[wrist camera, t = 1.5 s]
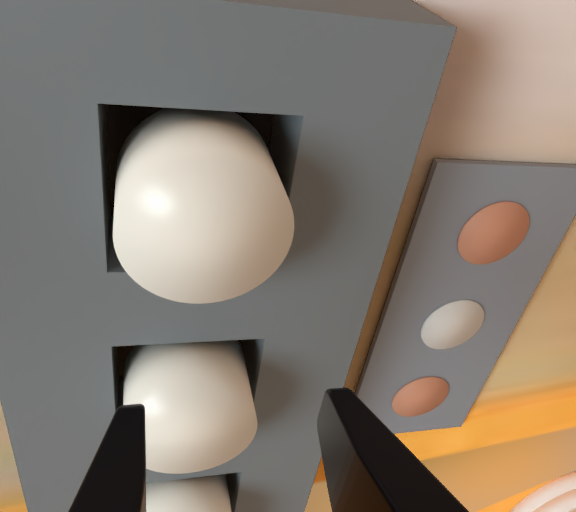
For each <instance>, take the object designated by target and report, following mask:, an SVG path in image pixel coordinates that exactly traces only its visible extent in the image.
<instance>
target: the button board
mask: <svg viewBox="0 0 576 512" xmlns="http://www.w3.org/2000/svg"><path fill="white" fill-rule="evenodd" d="M456 29H457V27H455V26H454V25H452V24H450V23H449V22H447V21H445V20H444V19H442V18H440V17H439V16H437V15H435V14H434V13H432V12H430V11H429V10H427V9H425V8H424V7H422V6H420V5H419V4H417V3H415V2H414V1H412V0H0V400H1V404H2V408H3V413H4V417H5V421H6V425H7V429H8V433H9V437H10V441H11V445H12V449H13V453H14V457H15V461H16V466H17V470H18V474H19V478H20V482H21V486H22V490H23V494H24V498H25V502H26V506H27V510H28V512H68V511H69V509H70V507H71V505H72V502H73V500H74V498H75V496H76V494H77V492H78V490H79V488H80V485H81V483H82V481H83V479H84V477H85V475H86V473H87V471H88V469H89V466H90V464H91V462H92V460H93V458H94V456H95V454H96V452H97V450H98V447H99V445H100V443H101V441H102V439H103V437H104V435H105V433H106V431H107V428H108V426H109V424H110V422H111V420H112V418H113V416H114V414H115V412H116V410H117V408H118V407H119V406H121V405H123V389H124V379H119V376H118V355H117V346H132V345H151V344H170V343H189V342H208V341H227V340H243V341H242V351H243V354H244V359H245V364H246V369H247V374H248V378H249V383H250V388H251V393H252V398H253V402H254V407H255V412H256V417H257V423H258V424H257V431H256V434H255V436H254V438H253V440H252V442H251V443H250V444H249V445H248V447H247V448H246V449H245V450H244V451H242V452H241V453H240V454H239V455H237V456H236V457H234V458H233V459H231V460H229V461H228V462H226V463H223V464H221V465H219V466H216V467H214V468H210V469H207V470H203V471H199V472H193V473H184V474H169V473H161V472H155V471H152V470H148V469H146V483H152V482H160V481H169V480H177V479H186V478H195V477H203V476H212V475H220V474H226V477H227V484H228V491H229V498H230V505H231V512H304V511H305V507H306V504H307V501H308V498H309V495H310V492H311V488H312V485H313V482H314V479H315V476H316V473H317V469H318V466H319V463H320V460H321V457H322V454H321V448H320V443H319V437H318V432H317V417H318V413H319V410H320V406H321V403H322V399H323V396H324V393H325V391H326V390H327V389H331V388H343V387H344V384H345V381H346V377H347V374H348V371H349V368H350V365H351V362H352V358H353V355H354V352H355V349H356V346H357V343H358V339H359V336H360V333H361V330H362V327H363V324H364V320H365V317H366V314H367V311H368V308H369V305H370V301H371V298H372V295H373V292H374V289H375V286H376V282H377V279H378V276H379V273H380V270H381V266H382V263H383V260H384V257H385V254H386V251H387V247H388V244H389V241H390V238H391V235H392V232H393V228H394V225H395V222H396V219H397V216H398V213H399V209H400V206H401V203H402V200H403V197H404V194H405V190H406V187H407V184H408V181H409V178H410V175H411V171H412V168H413V165H414V162H415V159H416V155H417V152H418V149H419V146H420V143H421V140H422V136H423V133H424V130H425V127H426V124H427V121H428V117H429V114H430V111H431V108H432V105H433V102H434V98H435V95H436V92H437V89H438V86H439V83H440V79H441V76H442V73H443V70H444V67H445V64H446V60H447V57H448V54H449V51H450V48H451V44H452V41H453V38H454V35H455V32H456ZM105 104H113V105H130V106H147V107H164V108H181V109H198V110H214V111H231V112H248V113H265V114H274V121H273V128H272V135H271V142H270V149H269V153H270V156H271V158H272V161H273V163H274V165H275V168H276V170H277V172H278V175H279V177H280V180H281V182H282V184H283V187H284V189H285V191H286V194H287V196H288V199H289V201H290V204H291V207H292V210H293V215H294V235H293V240H292V243H291V246H290V249H289V251H288V254H287V255H286V257H285V259H284V261H283V262H282V264H281V265H280V266H279V267H278V269H277V270H276V271H275V272H274V273H273V274H272V275H271V276H270V277H269V278H268V279H267V280H265V281H264V282H263V283H262V284H260V285H259V286H257V287H256V288H254V289H253V290H251V291H249V292H247V293H245V294H243V295H240V296H237V297H235V298H232V299H228V300H225V301H220V302H215V303H205V304H190V303H182V302H177V301H172V300H168V299H165V298H162V297H160V296H157V295H155V294H153V293H151V292H149V291H148V290H146V289H144V288H143V287H141V286H140V285H139V284H138V283H136V282H135V281H134V280H133V279H132V278H131V277H130V276H129V275H128V274H127V272H126V271H125V270H124V268H123V267H122V265H121V263H120V261H119V259H118V257H117V255H116V252H115V248H114V243H113V219H114V216H111V210H110V190H109V169H108V148H107V128H106V107H105Z"/></svg>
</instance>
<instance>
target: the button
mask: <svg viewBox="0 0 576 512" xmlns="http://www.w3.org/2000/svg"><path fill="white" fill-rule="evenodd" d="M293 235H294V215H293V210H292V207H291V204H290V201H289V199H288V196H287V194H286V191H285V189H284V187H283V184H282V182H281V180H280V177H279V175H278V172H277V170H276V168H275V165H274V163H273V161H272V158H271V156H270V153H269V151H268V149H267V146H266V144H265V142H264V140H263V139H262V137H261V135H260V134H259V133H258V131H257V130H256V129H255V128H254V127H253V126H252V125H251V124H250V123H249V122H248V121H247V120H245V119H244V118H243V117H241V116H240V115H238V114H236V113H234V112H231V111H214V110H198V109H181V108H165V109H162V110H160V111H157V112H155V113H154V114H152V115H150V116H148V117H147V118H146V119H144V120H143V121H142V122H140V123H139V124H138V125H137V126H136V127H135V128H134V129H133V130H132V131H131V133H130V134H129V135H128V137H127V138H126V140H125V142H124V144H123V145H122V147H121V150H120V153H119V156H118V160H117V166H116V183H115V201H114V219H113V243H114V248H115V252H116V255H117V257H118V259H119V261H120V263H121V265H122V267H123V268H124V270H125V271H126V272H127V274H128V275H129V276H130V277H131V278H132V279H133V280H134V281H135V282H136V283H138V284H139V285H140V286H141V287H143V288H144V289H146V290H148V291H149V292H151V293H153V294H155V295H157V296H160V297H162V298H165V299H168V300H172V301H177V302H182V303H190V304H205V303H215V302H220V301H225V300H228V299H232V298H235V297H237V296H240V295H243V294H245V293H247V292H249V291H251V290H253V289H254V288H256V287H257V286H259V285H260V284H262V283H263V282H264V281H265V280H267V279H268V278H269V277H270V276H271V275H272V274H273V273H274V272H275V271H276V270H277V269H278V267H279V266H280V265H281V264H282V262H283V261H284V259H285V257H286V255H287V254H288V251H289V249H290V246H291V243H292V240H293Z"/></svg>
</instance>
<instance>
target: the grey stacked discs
mask: <svg viewBox="0 0 576 512" xmlns="http://www.w3.org/2000/svg"><path fill="white" fill-rule="evenodd" d="M561 476H562V477H561ZM561 476H559V477H560V478H559V477H556V478H557V479H556V478H554V479H555V480H553V479H552V480H553V481H551V482H549V483H547V484H545V485H543V486H541V487H540V488H538V489H536V490H535V491H533V492H532V493H530V494H529V495H527V496H526V497H525V498H523V499H522V500H521V501H520V502H519V503H517V504H516V505H515V506H514V507H513V508H512V510H511V511H510V512H576V471H572V472H569V473H567V474H564V475H561Z"/></svg>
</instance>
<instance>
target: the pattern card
mask: <svg viewBox="0 0 576 512" xmlns="http://www.w3.org/2000/svg"><path fill="white" fill-rule="evenodd" d="M575 215H576V164H554V163H529V162H504V161H479V160H454V159H434V160H433V163H432V166H431V169H430V172H429V175H428V178H427V181H426V184H425V187H424V190H423V193H422V196H421V199H420V202H419V205H418V208H417V211H416V214H415V216H414V219H413V222H412V225H411V228H410V231H409V234H408V237H407V240H406V243H405V246H404V249H403V252H402V255H401V258H400V261H399V264H398V267H397V270H396V273H395V276H394V279H393V282H392V285H391V288H390V291H389V294H388V297H387V300H386V302H385V305H384V308H383V311H382V314H381V317H380V320H379V323H378V326H377V329H376V332H375V335H374V338H373V341H372V344H371V347H370V350H369V353H368V356H367V359H366V362H365V365H364V368H363V371H362V374H361V377H360V380H359V383H358V386H357V388H356V391H355V394H356V396H357V397H358V398H359V399H360V400H361V401H362V402H363V403H364V404H365V405H366V406H367V407H368V408H369V409H370V410H371V411H372V412H373V413H374V414H375V415H376V416H377V417H378V418H379V419H380V420H381V421H382V422H383V423H384V424H385V425H386V427H387V428H388V429H389V430H390V431H391V432H392V433H393V434H395V433H404V432H414V431H423V430H432V429H442V428H451V427H461V426H462V424H463V422H464V420H465V418H466V416H467V415H468V413H469V411H470V409H471V407H472V405H473V403H474V402H475V400H476V398H477V396H478V394H479V392H480V390H481V389H482V387H483V385H484V383H485V381H486V379H487V378H488V376H489V374H490V372H491V370H492V368H493V366H494V365H495V363H496V361H497V359H498V357H499V355H500V353H501V352H502V350H503V348H504V346H505V344H506V342H507V341H508V339H509V337H510V335H511V333H512V331H513V329H514V328H515V326H516V324H517V322H518V320H519V318H520V316H521V315H522V313H523V311H524V309H525V307H526V305H527V304H528V302H529V300H530V298H531V296H532V294H533V292H534V291H535V289H536V287H537V285H538V283H539V281H540V279H541V278H542V276H543V274H544V272H545V270H546V268H547V266H548V265H549V263H550V261H551V259H552V257H553V255H554V254H555V252H556V250H557V248H558V246H559V244H560V242H561V241H562V239H563V237H564V235H565V233H566V231H567V229H568V228H569V226H570V224H571V222H572V220H573V218H574V217H575Z"/></svg>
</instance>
